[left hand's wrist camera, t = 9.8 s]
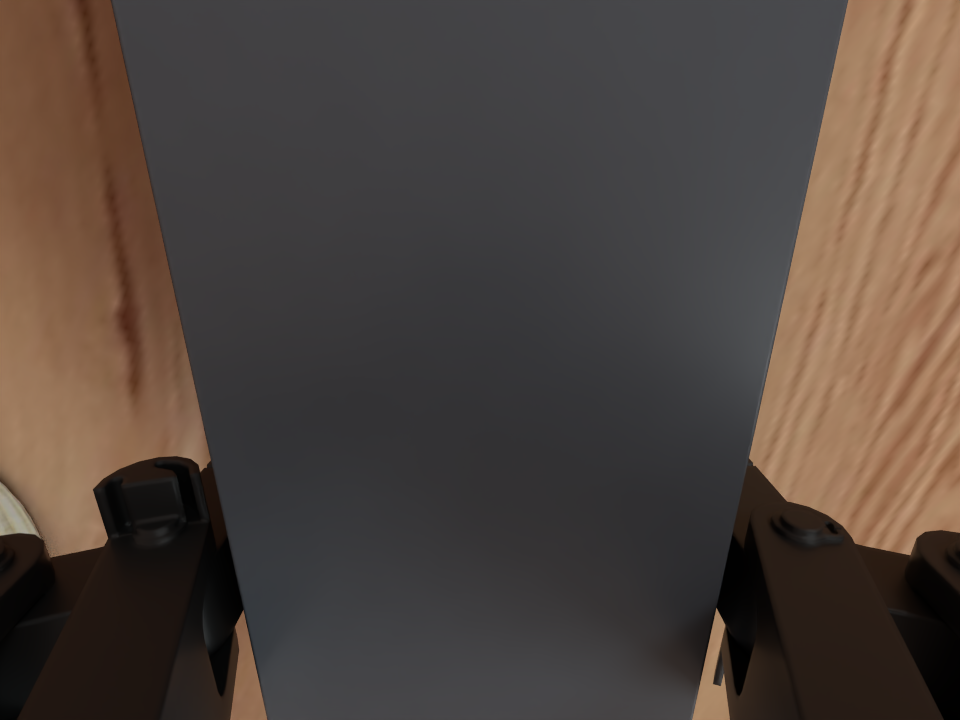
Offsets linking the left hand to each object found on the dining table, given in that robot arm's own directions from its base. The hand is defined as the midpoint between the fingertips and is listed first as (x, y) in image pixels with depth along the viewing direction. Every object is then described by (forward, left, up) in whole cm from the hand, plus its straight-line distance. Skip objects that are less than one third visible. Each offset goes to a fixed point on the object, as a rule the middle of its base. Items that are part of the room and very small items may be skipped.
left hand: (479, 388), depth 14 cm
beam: (+2, +22, -1) cm, 22 cm away
